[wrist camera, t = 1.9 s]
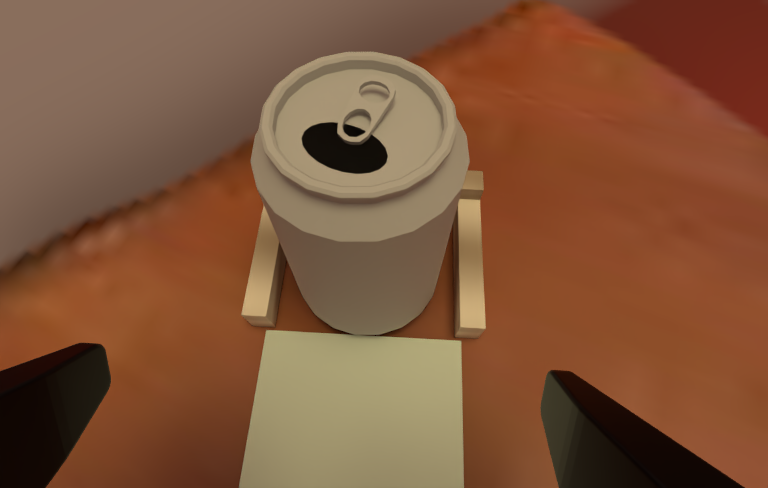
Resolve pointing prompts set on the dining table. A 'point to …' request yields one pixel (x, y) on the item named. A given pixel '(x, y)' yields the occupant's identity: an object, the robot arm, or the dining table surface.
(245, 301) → the shelf lane
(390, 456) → the mat
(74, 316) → the dining table surface
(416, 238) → the can
